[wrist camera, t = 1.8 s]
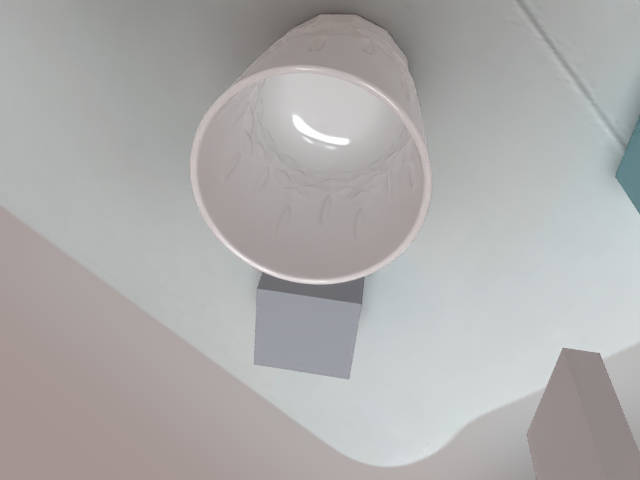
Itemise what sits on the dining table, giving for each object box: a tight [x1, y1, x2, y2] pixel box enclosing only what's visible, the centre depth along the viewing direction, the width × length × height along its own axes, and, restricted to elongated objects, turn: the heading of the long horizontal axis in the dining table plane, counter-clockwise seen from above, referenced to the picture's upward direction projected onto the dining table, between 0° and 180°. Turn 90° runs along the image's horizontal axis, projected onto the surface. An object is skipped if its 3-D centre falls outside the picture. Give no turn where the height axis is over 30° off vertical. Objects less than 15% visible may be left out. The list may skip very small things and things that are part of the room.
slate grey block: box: [254, 272, 365, 379], centre depth 32 cm, size 5×5×5 cm
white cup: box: [190, 14, 432, 284], centre depth 23 cm, size 8×8×10 cm
